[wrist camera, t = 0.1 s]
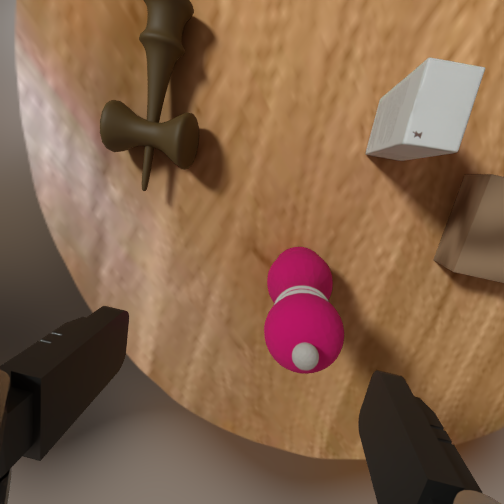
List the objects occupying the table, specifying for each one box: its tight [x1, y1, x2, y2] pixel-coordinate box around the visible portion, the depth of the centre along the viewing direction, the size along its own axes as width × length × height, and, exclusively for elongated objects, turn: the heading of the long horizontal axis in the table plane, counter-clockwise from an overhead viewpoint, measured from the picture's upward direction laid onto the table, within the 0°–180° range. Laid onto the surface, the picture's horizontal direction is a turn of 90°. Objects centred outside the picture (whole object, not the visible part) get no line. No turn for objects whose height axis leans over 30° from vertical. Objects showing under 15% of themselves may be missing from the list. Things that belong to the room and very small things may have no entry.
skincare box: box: [366, 58, 485, 161], centre depth 28 cm, size 6×4×12 cm
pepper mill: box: [264, 247, 344, 373], centre depth 30 cm, size 7×7×20 cm
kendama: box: [100, 0, 199, 191], centre depth 34 cm, size 6×10×20 cm
